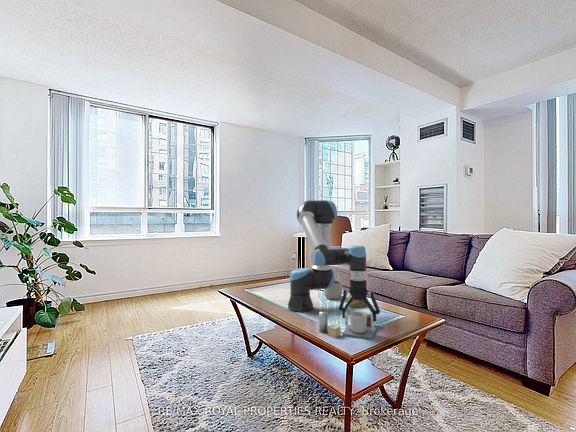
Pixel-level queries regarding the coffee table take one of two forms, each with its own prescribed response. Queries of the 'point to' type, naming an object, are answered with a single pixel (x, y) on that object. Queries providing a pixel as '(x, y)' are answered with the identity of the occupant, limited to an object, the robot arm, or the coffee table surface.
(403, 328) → the coffee table surface
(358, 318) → the cup
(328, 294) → the planter
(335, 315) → the coffee table surface
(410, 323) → the coffee table surface
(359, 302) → the pastry
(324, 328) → the grey peg
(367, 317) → the walnut block
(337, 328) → the ochre block
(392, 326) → the coffee table surface
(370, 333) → the coaster
